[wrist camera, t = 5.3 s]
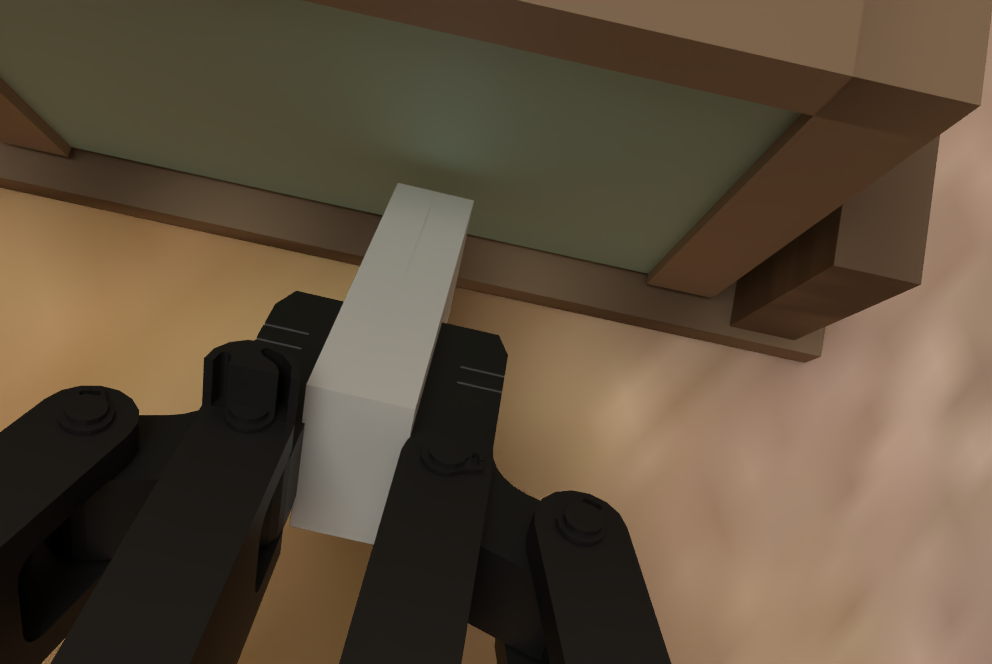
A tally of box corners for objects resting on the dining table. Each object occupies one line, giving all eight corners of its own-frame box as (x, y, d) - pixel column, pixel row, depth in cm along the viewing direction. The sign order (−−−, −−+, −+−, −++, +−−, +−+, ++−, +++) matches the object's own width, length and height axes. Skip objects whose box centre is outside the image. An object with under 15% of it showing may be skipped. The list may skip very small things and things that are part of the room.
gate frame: (-112, 162, 23) (-786, -256, 10) (-68, 32, 24) (-650, -514, 11) (804, 362, 24) (1240, 202, 11) (824, 230, 24) (1256, -66, 12)
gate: (-1, 142, 22) (-431, -215, 11) (25, 63, 22) (-368, -359, 11) (711, 298, 23) (980, 105, 12) (725, 218, 23) (998, -42, 12)
